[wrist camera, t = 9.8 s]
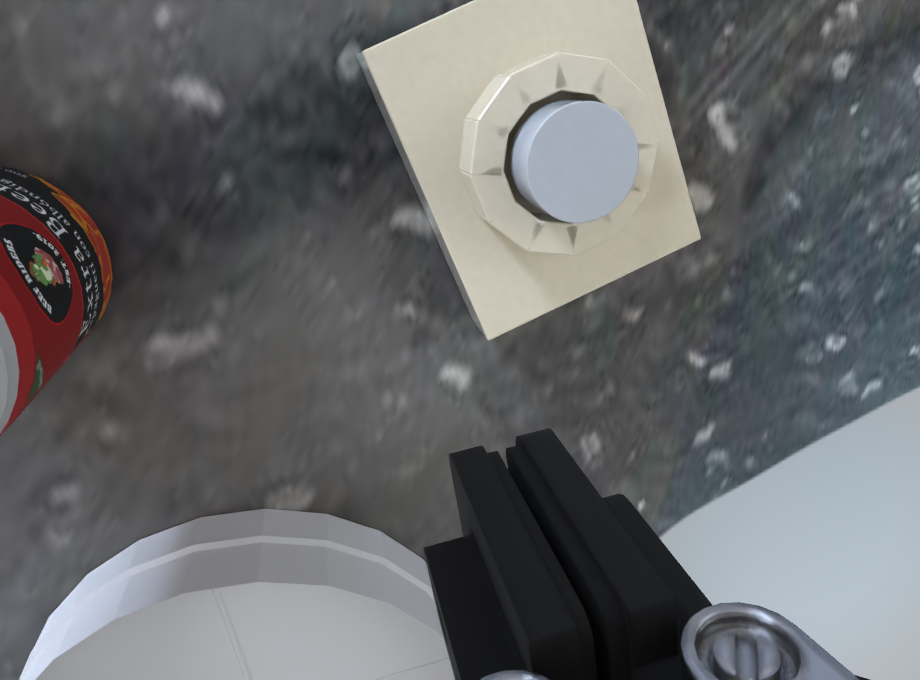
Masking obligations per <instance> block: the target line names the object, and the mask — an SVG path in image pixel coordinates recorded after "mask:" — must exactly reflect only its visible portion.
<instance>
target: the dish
mask: <svg viewBox="0 0 920 680" xmlns="http://www.w3.org/2000/svg"><path fill="white" fill-rule="evenodd" d="M19 680H455V677H454V674H453V670H452V666H451V663H450V659H449V655H448V651H447V648H446V644H445V640H444V636H443V633H442V629H441V625H440V621H439V617H438V612H437V608H436V604H435V600H434V596H433V591H432V587H431V582H430V577H429V573H428V568H427V564H426V562H425V561H424V560H423V559H422V558H421V557H419V556H418V555H416V554H415V553H413V552H412V551H410V550H409V549H407V548H406V547H404V546H403V545H401V544H399V543H398V542H396V541H395V540H393V539H392V538H390V537H389V536H387V535H386V534H384V533H383V532H381V531H379V530H376V529H373V528H370V527H366V526H363V525H360V524H357V523H354V522H351V521H348V520H345V519H342V518H338V517H335V516H332V515H329V514H325V513H312V512H300V511H288V510H276V509H258V510H251V511H243V512H236V513H228V514H221V515H213V516H206V517H200V518H197V519H194V520H192V521H189V522H186V523H183V524H181V525H178V526H175V527H173V528H170V529H167V530H165V531H162V532H159V533H157V534H154V535H151V536H148V537H146V538H143V539H140V540H138V541H137V542H135V543H134V544H132V545H131V546H129V547H128V548H126V549H125V550H123V551H122V552H120V553H119V554H117V555H116V556H114V557H113V558H111V559H110V560H108V561H107V562H105V563H103V564H102V565H100V566H99V567H97V568H96V569H94V570H93V571H91V572H90V573H88V574H87V575H86V576H85V577H84V578H83V580H82V581H81V582H80V583H79V584H78V585H77V586H76V587H75V588H74V590H73V591H72V592H71V593H70V594H69V595H68V596H67V597H66V599H65V600H64V601H63V602H62V603H61V604H60V605H59V606H58V607H57V609H56V610H55V611H54V612H53V613H52V614H51V615H50V616H49V618H48V620H47V622H46V624H45V626H44V628H43V630H42V632H41V635H40V637H39V639H38V641H37V643H36V645H35V647H34V649H33V650H32V652H31V654H30V656H29V658H28V660H27V663H26V665H25V667H24V670H23V672H22V674H21V677H20V679H19Z"/></svg>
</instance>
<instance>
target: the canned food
mask: <svg viewBox="0 0 920 680" xmlns="http://www.w3.org/2000/svg"><path fill="white" fill-rule="evenodd" d="M112 279H113V277H112V268H111V259H110V255H109V252H108V249H107V246H106V243H105V240H104V238H103V236H102V234H101V232H100V231H99V229H98V227H97V225H96V224H95V222H94V221H93V219H92V218H91V217H90V216H89V215H88V214H87V212H86V211H85V210H84V209H83V208H82V207H81V205H79V204H78V203H77V202H76V201H74V200H73V199H72V198H71V197H70V196H68V195H67V194H66V193H65V192H63V191H62V190H60V189H58V188H56V187H55V186H53V185H51V184H49V183H48V182H46V181H44V180H42V179H41V178H38V177H36V176H33V175H30V174H28V173H25V172H22V171H20V170H17V169H13V168H8V167H3V166H0V435H1V434H2V433H3V432H4V431H5V430H6V429H7V428H8V427H9V426H10V425H11V424H12V423H13V422H14V421H15V419H16V418H17V417H18V416H19V415H20V414H21V412H22V411H23V410H24V409H25V408H26V407H27V405H28V404H29V403H30V402H31V401H32V400H33V398H34V397H35V396H36V395H37V394H38V393H39V391H40V390H41V389H42V388H43V387H44V386H45V384H46V383H47V382H48V381H49V380H50V379H51V377H52V376H53V375H54V374H55V373H56V372H57V370H58V369H59V368H60V367H61V366H62V365H63V363H64V362H65V361H66V360H67V359H68V358H69V356H70V355H71V354H72V353H73V352H74V351H75V349H76V348H77V347H78V346H79V345H80V344H81V342H82V341H83V340H84V339H85V338H86V337H87V335H88V334H89V333H90V332H91V331H92V330H93V328H94V327H95V325H96V324H97V322H98V321H99V320H100V318H101V317H102V315H103V314H104V311H105V309H106V306H107V304H108V301H109V298H110V294H111V287H112Z"/></svg>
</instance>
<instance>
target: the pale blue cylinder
mask: <svg viewBox="0 0 920 680" xmlns="http://www.w3.org/2000/svg"><path fill="white" fill-rule="evenodd" d="M638 164H639V150H638V144H637V139H636V137H635V134H634V131H633V129H632V127H631V126H630V124H629V123H628V121H627V120H626V119H625V117H624V116H623V115H622V114H621V113H619V112H618V111H617V110H616V109H614V108H612V107H611V106H609V105H606V104H604V103H601V102H596V101H583V100H558V101H554V102H550V103H548V104H545V105H543V106H541V107H540V108H538V109H537V110H535V111H534V112H533V113H531V114H530V115H529V116H528V117H527V118H526V120H525V121H524V122H523V123H522V125H521V126H520V128H519V129H518V131H517V133H516V135H515V138H514V141H513V144H512V148H511V153H510V169H511V175H512V178H513V181H514V184H515V186H516V188H517V190H518V191H519V193H520V194H521V196H522V197H523V198H524V199H525V200H526V201H527V202H528V203H529V204H531V205H532V206H534V207H535V208H537V209H539V210H541V211H543V212H545V213H546V214H548V215H550V216H552V217H554V218H556V219H558V220H561V221H564V222H569V223H587V222H591V221H595V220H597V219H600V218H602V217H604V216H606V215H607V214H609V213H610V212H612V211H613V210H614V209H615V208H616V207H618V206H619V205H620V204H621V202H622V201H623V200H624V199H625V198H626V196H627V195H628V193H629V191H630V190H631V188H632V186H633V183H634V181H635V178H636V174H637V171H638Z"/></svg>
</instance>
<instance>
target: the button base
mask: <svg viewBox="0 0 920 680" xmlns="http://www.w3.org/2000/svg"><path fill="white" fill-rule="evenodd" d="M357 59H358V61H359V63H360V66H361V68H362V70H363V72H364V75H365V77H366V79H367V81H368V84H369V86H370V88H371V90H372V93H373V95H374V97H375V100H376V102H377V104H378V106H379V109H380V111H381V113H382V115H383V118H384V120H385V122H386V124H387V127H388V129H389V131H390V134H391V136H392V138H393V140H394V143H395V145H396V147H397V149H398V152H399V154H400V156H401V158H402V161H403V163H404V165H405V168H406V170H407V172H408V174H409V177H410V179H411V181H412V183H413V186H414V188H415V190H416V192H417V195H418V197H419V199H420V202H421V204H422V206H423V208H424V211H425V213H426V215H427V217H428V220H429V222H430V224H431V226H432V229H433V231H434V233H435V236H436V238H437V240H438V242H439V245H440V247H441V249H442V251H443V254H444V256H445V258H446V260H447V263H448V265H449V267H450V269H451V272H452V274H453V276H454V279H455V281H456V283H457V285H458V288H459V290H460V292H461V294H462V297H463V299H464V301H465V303H466V306H467V308H468V310H469V313H470V315H471V317H472V319H473V320H474V322H475V323H476V324H477V326H478V327H479V329H480V330H481V331H482V333H483V334H484V335H485V337H486V338H487V340H491V339H493V338H495V337H497V336H500V335H502V334H504V333H506V332H508V331H510V330H512V329H514V328H516V327H518V326H520V325H522V324H525V323H527V322H529V321H531V320H533V319H535V318H537V317H539V316H541V315H543V314H545V313H547V312H549V311H552V310H554V309H556V308H558V307H560V306H562V305H564V304H566V303H568V302H570V301H572V300H574V299H577V298H579V297H581V296H583V295H585V294H587V293H589V292H591V291H593V290H595V289H597V288H599V287H602V286H604V285H606V284H608V283H610V282H612V281H614V280H616V279H618V278H620V277H622V276H624V275H626V274H629V273H631V272H633V271H635V270H637V269H639V268H641V267H643V266H645V265H647V264H649V263H651V262H654V261H656V260H658V259H660V258H662V257H664V256H666V255H668V254H670V253H672V252H674V251H676V250H678V249H681V248H683V247H685V246H687V245H689V244H691V243H693V242H695V241H697V240H699V239H701V236H700V232H699V229H698V225H697V221H696V218H695V214H694V210H693V206H692V203H691V199H690V195H689V192H688V188H687V184H686V181H685V177H684V173H683V170H682V166H681V162H680V159H679V155H678V151H677V147H676V144H675V140H674V136H673V133H672V129H671V125H670V122H669V118H668V114H667V111H666V107H665V103H664V100H663V96H662V92H661V89H660V85H659V81H658V77H657V74H656V70H655V66H654V63H653V59H652V55H651V52H650V48H649V44H648V41H647V37H646V33H645V30H644V26H643V22H642V18H641V15H640V11H639V7H638V4H637V0H473V1H471V2H469V3H467V4H464V5H462V6H460V7H458V8H456V9H453V10H451V11H449V12H447V13H445V14H442V15H440V16H438V17H436V18H434V19H432V20H429V21H427V22H425V23H423V24H421V25H418V26H416V27H414V28H412V29H410V30H407V31H405V32H403V33H401V34H399V35H396V36H394V37H392V38H390V39H388V40H385V41H383V42H381V43H379V44H377V45H374V46H372V47H370V48H368V49H366V50H363V51H362V52H360V53H359V54H357ZM558 100H583V101H596V102H601V103H604V104H606V105H609V106H611V107H612V108H614V109H616V110H617V111H618V112H619V113H621V114H622V115H623V116H624V117H625V119H626V120H627V121H628V123H629V124H630V126H631V127H632V129H633V131H634V134H635V137H636V139H637V144H638V150H639V164H638V171H637V174H636V178H635V181H634V183H633V186H632V188H631V190H630V191H629V193H628V195H627V196H626V198H625V199H624V200H623V201H622V202H621V204H620V205H619V206H618V207H616V208H615V209H614V210H613V211H612V212H610V213H609V214H607V215H606V216H604V217H602V218H600V219H597V220H595V221H591V222H587V223H569V222H564V221H561V220H558V219H556V218H554V217H552V216H550V215H548V214H546V213H545V212H543V211H541V210H539V209H537V208H535V207H534V206H532V205H531V204H529V203H528V202H527V201H526V200H525V199H524V198H523V197H522V196H521V194H520V193H519V191H518V190H517V188H516V186H515V184H514V181H513V178H512V175H511V169H510V153H511V148H512V144H513V141H514V138H515V135H516V133H517V131H518V129H519V128H520V126H521V125H522V123H523V122H524V121H525V120H526V118H527V117H528V116H529V115H530V114H531V113H533V112H534V111H535V110H537V109H538V108H540V107H541V106H543V105H545V104H548V103H550V102H554V101H558Z"/></svg>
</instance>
